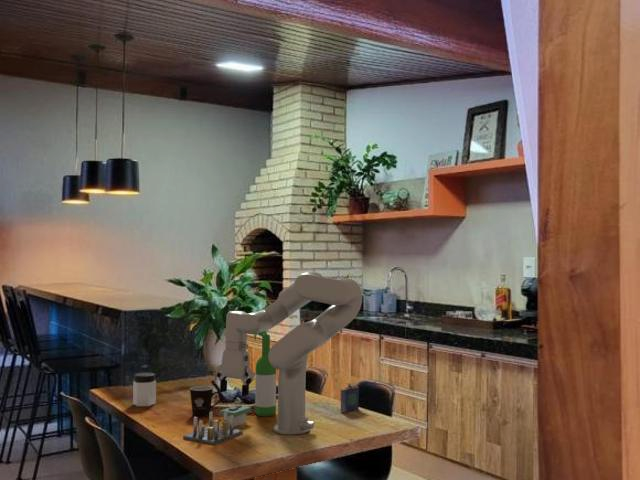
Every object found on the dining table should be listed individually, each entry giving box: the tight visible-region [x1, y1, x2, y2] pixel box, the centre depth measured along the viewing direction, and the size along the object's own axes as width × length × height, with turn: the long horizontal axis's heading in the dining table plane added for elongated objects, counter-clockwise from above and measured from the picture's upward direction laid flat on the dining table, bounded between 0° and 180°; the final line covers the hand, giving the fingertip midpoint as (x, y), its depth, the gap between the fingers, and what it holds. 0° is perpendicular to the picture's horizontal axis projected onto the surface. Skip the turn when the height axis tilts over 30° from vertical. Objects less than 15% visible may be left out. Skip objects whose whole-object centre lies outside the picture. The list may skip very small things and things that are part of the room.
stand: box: [227, 413, 247, 428], centre depth 229 cm, size 3×8×4 cm, turn 150°
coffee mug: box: [189, 385, 224, 418], centre depth 242 cm, size 12×9×10 cm
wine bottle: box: [254, 334, 277, 417], centre depth 243 cm, size 8×8×30 cm
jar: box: [132, 372, 157, 407], centre depth 258 cm, size 9×8×12 cm
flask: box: [340, 382, 360, 414], centre depth 249 cm, size 9×3×11 cm, turn 133°
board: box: [220, 404, 252, 417], centre depth 229 cm, size 6×10×2 cm, turn 150°
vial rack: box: [182, 411, 244, 446], centre depth 214 cm, size 13×15×6 cm
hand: (234, 393), depth 229 cm, fingers open, 9 cm apart
